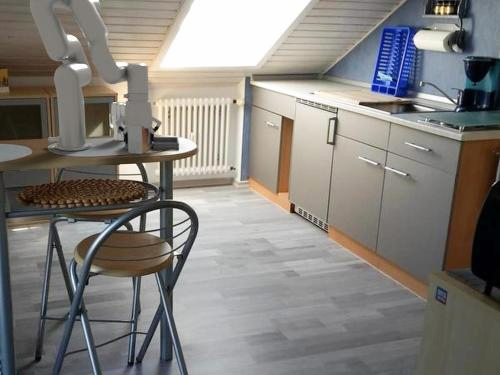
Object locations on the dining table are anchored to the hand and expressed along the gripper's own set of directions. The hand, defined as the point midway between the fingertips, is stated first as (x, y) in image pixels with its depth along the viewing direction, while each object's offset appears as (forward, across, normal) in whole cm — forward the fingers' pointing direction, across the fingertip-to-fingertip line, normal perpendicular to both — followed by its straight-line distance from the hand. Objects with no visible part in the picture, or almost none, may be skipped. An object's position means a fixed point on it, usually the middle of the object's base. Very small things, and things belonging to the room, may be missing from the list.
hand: (139, 143), depth 226 cm
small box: (+3, 0, 0) cm, 3 cm away
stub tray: (+3, +10, +9) cm, 14 cm away
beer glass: (+3, -8, +22) cm, 24 cm away
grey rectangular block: (+3, 0, +7) cm, 8 cm away
